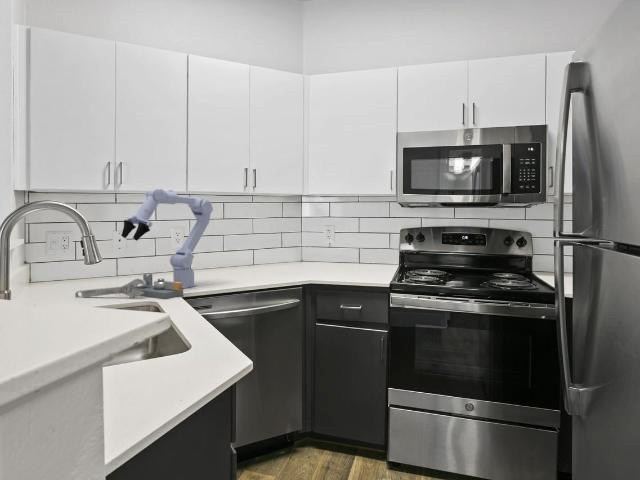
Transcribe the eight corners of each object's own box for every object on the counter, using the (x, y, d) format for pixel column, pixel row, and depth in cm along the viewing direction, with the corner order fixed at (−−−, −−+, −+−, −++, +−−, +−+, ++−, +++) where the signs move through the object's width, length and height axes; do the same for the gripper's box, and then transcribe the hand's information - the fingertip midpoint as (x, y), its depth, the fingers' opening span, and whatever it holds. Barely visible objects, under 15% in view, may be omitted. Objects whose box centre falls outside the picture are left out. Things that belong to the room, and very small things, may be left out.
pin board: (144, 290, 213) (144, 285, 212) (183, 295, 201) (183, 289, 201) (125, 293, 204) (125, 288, 204) (165, 299, 192) (165, 293, 192)
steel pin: (148, 288, 218) (148, 273, 218) (154, 289, 216) (154, 274, 216) (141, 289, 215) (141, 274, 214) (147, 290, 213) (147, 275, 212)
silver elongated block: (161, 286, 207) (161, 277, 207) (185, 289, 200) (185, 280, 200) (150, 288, 202) (150, 279, 202) (175, 291, 195) (175, 282, 195)
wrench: (78, 303, 197) (148, 296, 195) (76, 304, 195) (146, 297, 193) (76, 285, 196) (145, 277, 195) (73, 285, 194) (143, 278, 193)
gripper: (128, 205, 206) (111, 230, 200) (150, 208, 199) (134, 235, 193) (138, 214, 211) (122, 239, 206) (161, 218, 204) (145, 244, 199)
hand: (129, 238), depth 200 cm, fingers open, 7 cm apart
